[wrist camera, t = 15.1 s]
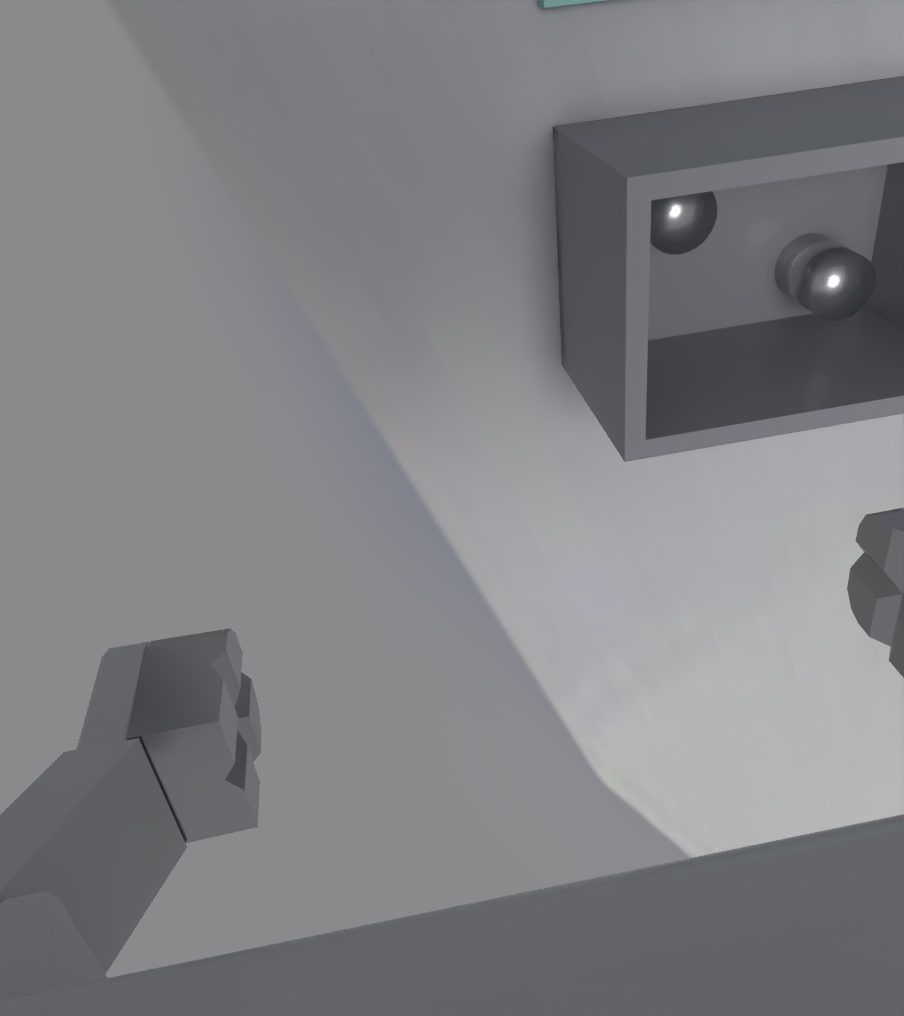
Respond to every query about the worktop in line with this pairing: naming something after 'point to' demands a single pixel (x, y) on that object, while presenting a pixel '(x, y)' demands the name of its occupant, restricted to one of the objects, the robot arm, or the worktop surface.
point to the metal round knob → (825, 276)
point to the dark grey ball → (682, 222)
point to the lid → (562, 2)
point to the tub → (731, 267)
